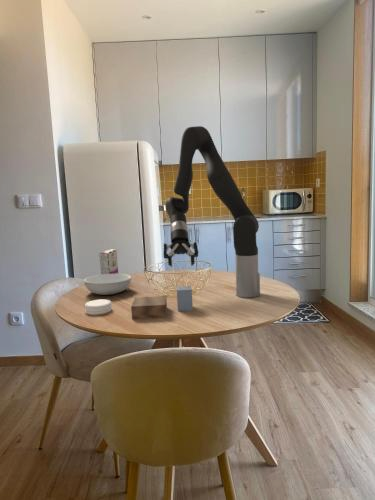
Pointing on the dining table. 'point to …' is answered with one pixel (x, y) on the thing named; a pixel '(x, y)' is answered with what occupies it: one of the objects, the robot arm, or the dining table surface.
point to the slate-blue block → (184, 298)
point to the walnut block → (149, 307)
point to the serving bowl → (107, 283)
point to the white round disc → (98, 307)
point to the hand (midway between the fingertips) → (181, 265)
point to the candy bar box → (108, 262)
